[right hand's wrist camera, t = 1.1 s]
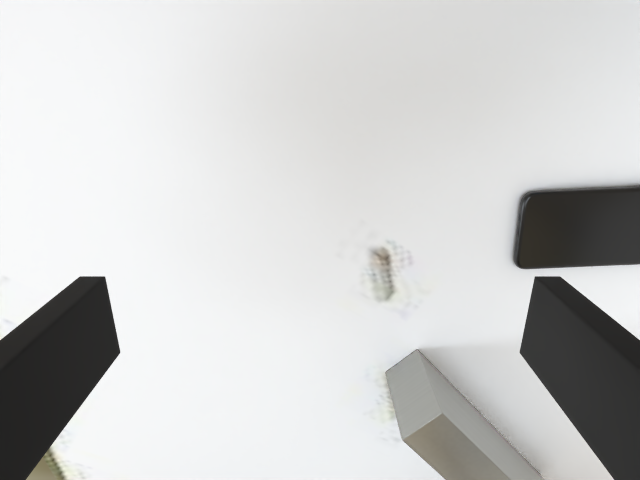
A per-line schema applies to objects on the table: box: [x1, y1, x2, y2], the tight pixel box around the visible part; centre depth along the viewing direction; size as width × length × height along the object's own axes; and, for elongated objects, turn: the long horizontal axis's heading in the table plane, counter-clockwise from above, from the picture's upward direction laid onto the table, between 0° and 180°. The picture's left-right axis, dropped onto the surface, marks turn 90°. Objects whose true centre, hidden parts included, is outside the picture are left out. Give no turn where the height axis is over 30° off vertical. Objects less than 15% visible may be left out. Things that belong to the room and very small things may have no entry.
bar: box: [385, 350, 544, 480], centre depth 44 cm, size 25×4×9 cm, turn 42°
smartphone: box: [514, 186, 640, 269], centre depth 40 cm, size 8×1×16 cm
